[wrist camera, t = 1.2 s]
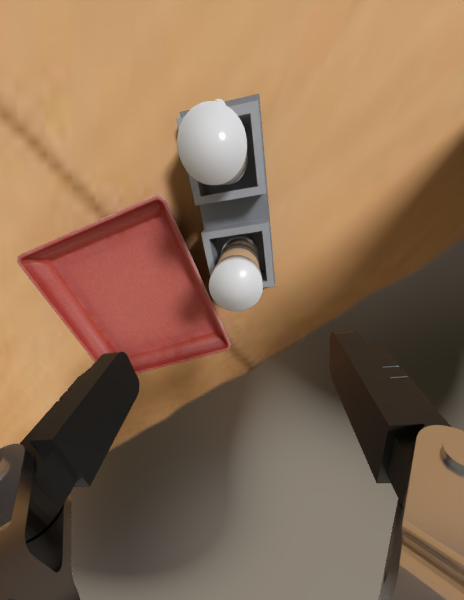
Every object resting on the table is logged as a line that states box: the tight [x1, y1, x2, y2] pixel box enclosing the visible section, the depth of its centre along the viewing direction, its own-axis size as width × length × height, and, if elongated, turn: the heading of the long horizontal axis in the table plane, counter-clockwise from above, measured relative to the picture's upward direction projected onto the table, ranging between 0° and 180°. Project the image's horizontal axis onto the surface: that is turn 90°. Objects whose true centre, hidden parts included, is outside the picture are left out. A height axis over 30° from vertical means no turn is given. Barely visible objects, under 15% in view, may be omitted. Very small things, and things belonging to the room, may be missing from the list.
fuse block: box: [176, 94, 275, 288], centre depth 21 cm, size 6×16×4 cm, turn 9°
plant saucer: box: [17, 195, 231, 373], centre depth 27 cm, size 18×18×3 cm
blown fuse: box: [209, 234, 263, 311], centre depth 19 cm, size 4×4×9 cm
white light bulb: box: [177, 101, 248, 185], centre depth 16 cm, size 4×4×9 cm
